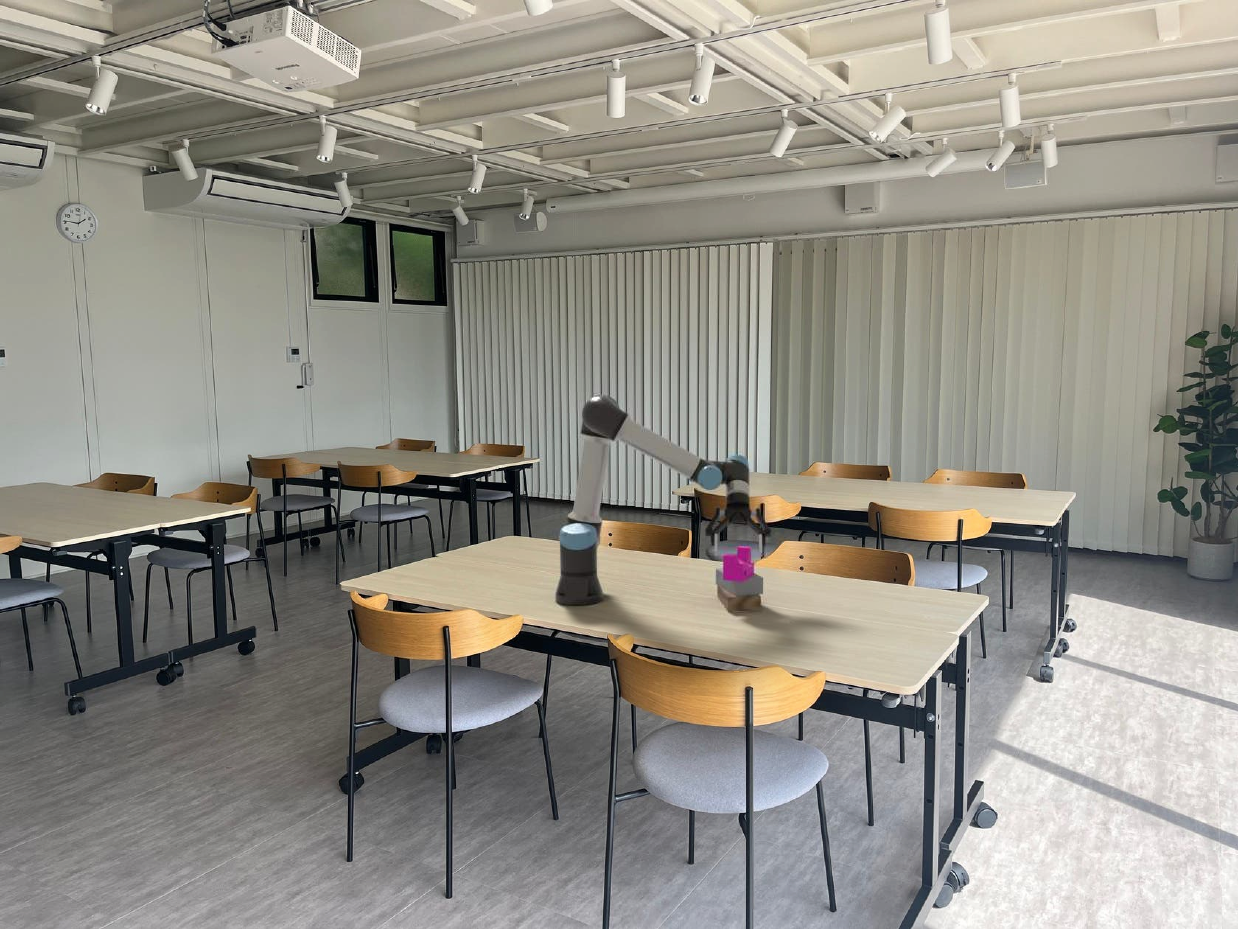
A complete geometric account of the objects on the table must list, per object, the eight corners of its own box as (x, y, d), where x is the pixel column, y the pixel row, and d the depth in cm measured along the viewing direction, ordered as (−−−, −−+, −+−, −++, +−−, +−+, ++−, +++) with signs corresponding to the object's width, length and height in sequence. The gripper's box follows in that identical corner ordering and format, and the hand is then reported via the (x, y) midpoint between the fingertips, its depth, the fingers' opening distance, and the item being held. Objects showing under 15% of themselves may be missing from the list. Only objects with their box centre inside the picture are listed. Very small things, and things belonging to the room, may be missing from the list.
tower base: (727, 613, 274) (727, 597, 273) (717, 598, 292) (717, 582, 291) (760, 612, 274) (760, 596, 274) (748, 597, 292) (748, 582, 292)
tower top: (735, 596, 274) (735, 580, 274) (715, 584, 290) (715, 568, 289) (763, 593, 277) (763, 577, 276) (742, 581, 292) (742, 566, 291)
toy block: (742, 582, 271) (743, 557, 270) (723, 580, 274) (723, 555, 273) (758, 571, 284) (758, 547, 284) (739, 569, 287) (739, 546, 286)
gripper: (776, 505, 293) (779, 561, 280) (698, 504, 296) (697, 560, 283) (777, 491, 287) (780, 547, 274) (698, 490, 290) (696, 546, 277)
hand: (738, 554), depth 278 cm, fingers open, 13 cm apart
